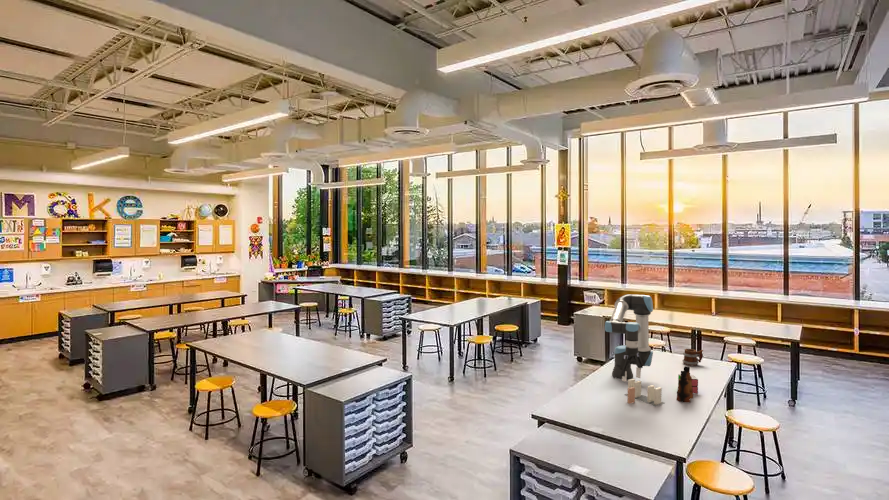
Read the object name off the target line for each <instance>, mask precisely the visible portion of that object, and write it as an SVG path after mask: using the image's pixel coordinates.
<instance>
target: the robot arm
mask: <svg viewBox="0 0 889 500" xmlns="http://www.w3.org/2000/svg"><path fill="white" fill-rule="evenodd" d="M653 304H654V302H653V299H652V296H650V295H645V294H632V293H631V294H629V293H628V294H624V295H621V296H620V297H618V298H617V299H616V301H615V302H614V309H613V313H612V315H611V317H610V320H606V321H605V323H604V331H605V332H607V333H612V334H622V335H623V334H624V335H625V345H617V346H616V347H615V348H614V367H613V368H612V372H611V376H612V378H615V379H618V380H622V382H626V383H627V382H628V380H630V379H634V373H633V370H632V365H634V366H636V367H635V368H636V369H635V371H636V372H635V377H636V378H637V379H641V374H642V369H643V367H651V364H652V361H653V356H654V355H653V354H654V351H653V350H652V348H651V347H650V345H649V344H650V343H649V331H650V330H649V316H650V315H652V312H653V311H654V305H653ZM627 311H633V314H634V315H635V322H634V321H633V322H632V321H628V322H625V321H624V318H625V314H626V312H627Z"/></svg>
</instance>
